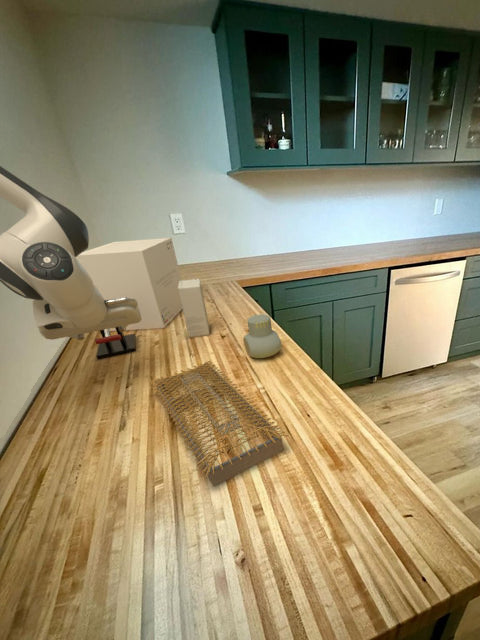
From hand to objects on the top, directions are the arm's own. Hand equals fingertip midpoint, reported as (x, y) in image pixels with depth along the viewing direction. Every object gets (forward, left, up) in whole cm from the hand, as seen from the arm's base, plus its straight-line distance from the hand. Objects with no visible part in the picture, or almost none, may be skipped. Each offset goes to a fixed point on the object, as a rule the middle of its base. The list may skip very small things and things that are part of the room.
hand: (102, 333), depth 83 cm
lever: (-2, +10, -2) cm, 11 cm away
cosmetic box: (+22, +17, -10) cm, 29 cm away
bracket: (-2, +14, -10) cm, 18 cm away
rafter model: (+25, -31, -10) cm, 41 cm away
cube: (+3, +40, -10) cm, 42 cm away
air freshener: (+39, -6, -10) cm, 40 cm away
